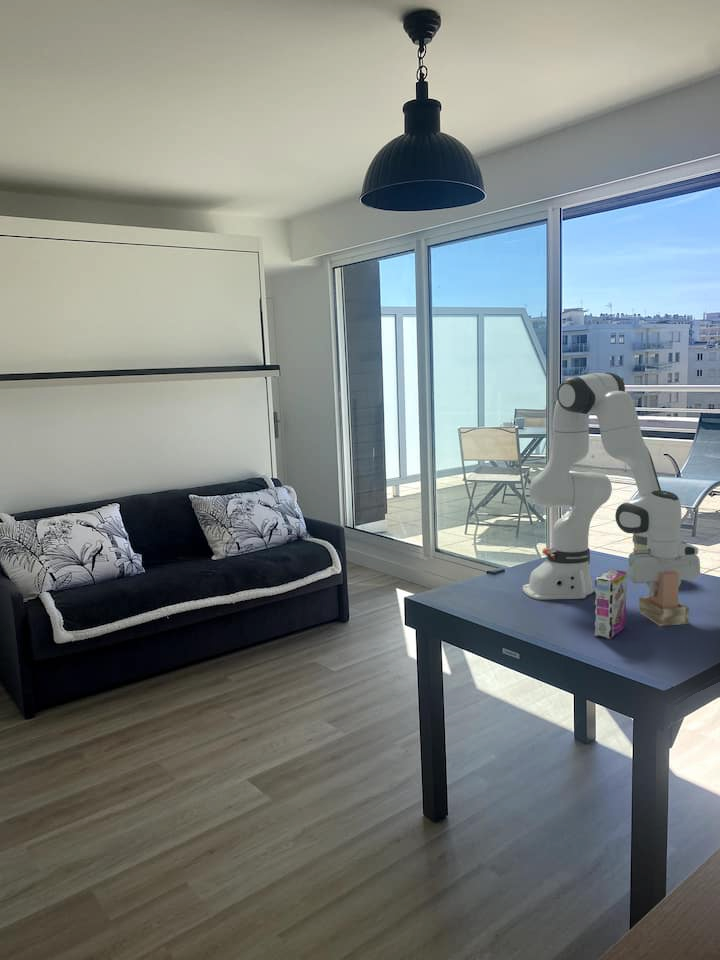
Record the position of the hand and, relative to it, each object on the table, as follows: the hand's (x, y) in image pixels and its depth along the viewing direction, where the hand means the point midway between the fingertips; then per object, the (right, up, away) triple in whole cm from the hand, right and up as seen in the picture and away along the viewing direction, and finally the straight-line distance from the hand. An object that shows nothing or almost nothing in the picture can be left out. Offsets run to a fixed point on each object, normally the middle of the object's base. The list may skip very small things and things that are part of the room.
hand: (663, 595), depth 209 cm
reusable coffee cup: (+13, 0, +41) cm, 43 cm away
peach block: (0, -5, 0) cm, 5 cm away
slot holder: (0, -7, +1) cm, 7 cm away
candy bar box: (-18, -9, -8) cm, 21 cm away
